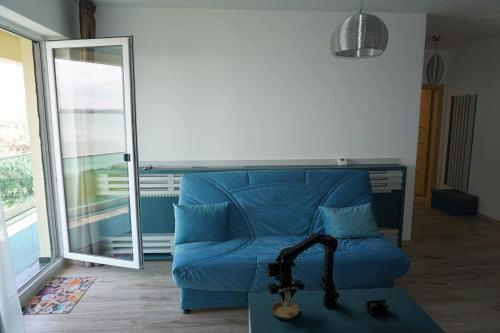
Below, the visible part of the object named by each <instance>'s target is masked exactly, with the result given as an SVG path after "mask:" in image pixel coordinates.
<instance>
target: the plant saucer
mask: <svg viewBox="0 0 500 333" xmlns="http://www.w3.org/2000/svg"><path fill="white" fill-rule="evenodd" d="M271 311H272V313H273V314H274V315H275V316H276V317H277V318H279V319H282V320H291V319H293V318H295V317H297V316H298V315H299V313H300V311H301V309H300V307H299V306H298V305H297V304H296V303H294V302H292V301H291V307H286V308H285V307H284V305H283V304H282V300H281V301H278V302H275V303H273V305H271ZM276 312H277V313H276Z"/></svg>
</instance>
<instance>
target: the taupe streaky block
mask: <svg viewBox="0 0 500 333" xmlns="http://www.w3.org/2000/svg"><path fill="white" fill-rule="evenodd" d="M283 292H284V303H283V302H282V304H283V305H284V307H285V308H286V307H291V302H292V301H291V300H292V299H291V292H290V291H289V289H288V288H287V289H283Z"/></svg>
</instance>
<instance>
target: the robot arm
mask: <svg viewBox="0 0 500 333" xmlns="http://www.w3.org/2000/svg"><path fill="white" fill-rule="evenodd" d="M317 244H320V245H322V246H323V249H324V265H323V277H322V278H319V284H318V285H319V287H320V289H321V291H322V292H324V296H323V301H322V304H323V305H324V307H325V308H327V310H330V309H331V310H332V309H336V308H337V309H338V308H340V307H339V305H338V299H339V298H340V293H339V292H338V291H337V290H336V284H335V282H334V281H335V280H334V266H335V264H334V262H335V253H336V251H337V250H338V245H339V240H338V239H337V238H335V237H334V236H333V235H331V234H329V233H328V234H323V233H316V232H314V233H312V234H311V235H310V236H308V237H306V238H305V239H303V240H301V241H300V242H298V243H297V244H296V245H293V246H289V247H285V248H283V249H281V250H280V251H279V255H278V256H277V257H276V259H275V262H268V263H267V265H266V268H265V272H266V277H267V278H272V277H273V279H274V281H277V282H278V284H279V285H276V283H268V285H267V290H268V292H269V293H270V295H277V294H278V295H279V296H280V299H281V301H282V302H283V303H284V292H283V289H287V288H288V290H289V291H290V292H291V300H292V298H293V297H294V295H295V294H296V293H297V292H298V290H299V291H303V290H306V285H305V283H304V282H303V281H302V280H301V279H297V280H296V279H295V280H294V281H293V273H292V272H293V270H292V269H293V267H296V266H297V265H296V263H295V262H294V261H295V260H296V259H297V258H298V256H299V255H300V254H302V253H303V252H305V251H307V250H308V249H310V248H312V247H313V246H315V245H317ZM297 289H298V290H297Z"/></svg>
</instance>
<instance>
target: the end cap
mask: <svg viewBox="0 0 500 333" xmlns="http://www.w3.org/2000/svg"><path fill="white" fill-rule="evenodd" d="M364 305H365V309H366V312H367V313H368V315H369V316H370V317H371V318H385V317H386V318H387V317H389V313H390V311H389V309H390V306H389V304H388V303H387V300H386V299H385V298H383V299H372V300H369V299H368V300H366V301H365V304H364Z"/></svg>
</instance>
